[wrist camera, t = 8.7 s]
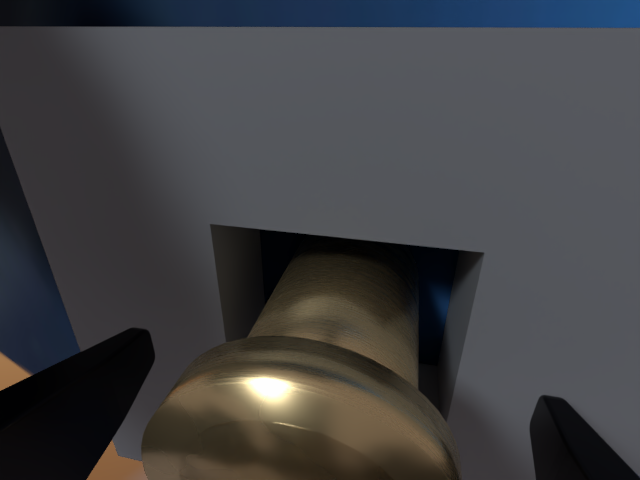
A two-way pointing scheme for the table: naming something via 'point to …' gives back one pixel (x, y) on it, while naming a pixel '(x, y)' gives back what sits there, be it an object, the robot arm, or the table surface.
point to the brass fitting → (312, 382)
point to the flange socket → (349, 197)
